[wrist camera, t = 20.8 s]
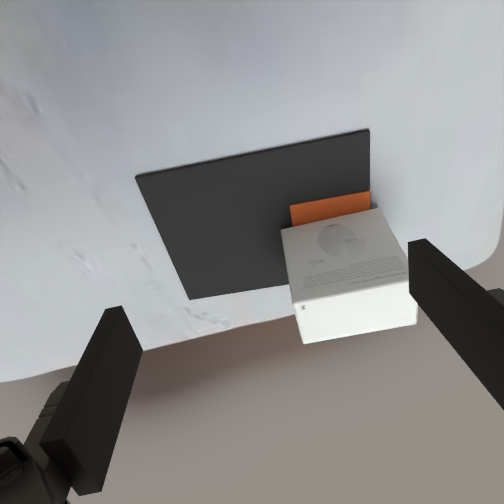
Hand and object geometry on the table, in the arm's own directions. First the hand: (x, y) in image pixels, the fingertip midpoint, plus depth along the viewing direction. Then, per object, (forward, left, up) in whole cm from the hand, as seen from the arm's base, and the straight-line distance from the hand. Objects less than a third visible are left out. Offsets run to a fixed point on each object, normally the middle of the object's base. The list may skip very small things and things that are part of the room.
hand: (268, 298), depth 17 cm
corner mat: (-1, -10, -20) cm, 23 cm away
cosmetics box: (+6, -13, -20) cm, 25 cm away
